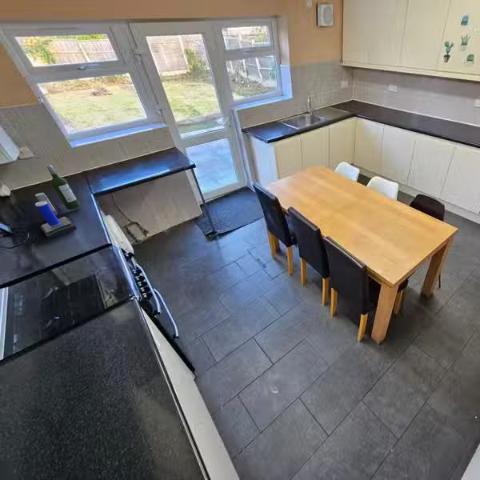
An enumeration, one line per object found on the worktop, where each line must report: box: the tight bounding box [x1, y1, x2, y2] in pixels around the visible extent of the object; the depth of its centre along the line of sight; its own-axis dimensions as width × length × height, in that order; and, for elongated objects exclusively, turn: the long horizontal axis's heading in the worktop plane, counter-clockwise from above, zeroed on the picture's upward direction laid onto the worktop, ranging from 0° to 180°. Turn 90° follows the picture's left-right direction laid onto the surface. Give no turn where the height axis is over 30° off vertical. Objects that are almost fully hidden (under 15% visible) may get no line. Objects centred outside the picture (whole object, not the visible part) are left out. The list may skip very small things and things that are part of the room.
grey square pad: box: [41, 216, 71, 233], centre depth 168 cm, size 12×12×1 cm
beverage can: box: [34, 201, 60, 226], centre depth 163 cm, size 5×5×15 cm
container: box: [34, 192, 58, 216], centre depth 178 cm, size 5×5×15 cm
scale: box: [40, 216, 78, 239], centre depth 169 cm, size 14×16×3 cm
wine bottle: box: [45, 164, 81, 210], centre depth 181 cm, size 8×8×30 cm
